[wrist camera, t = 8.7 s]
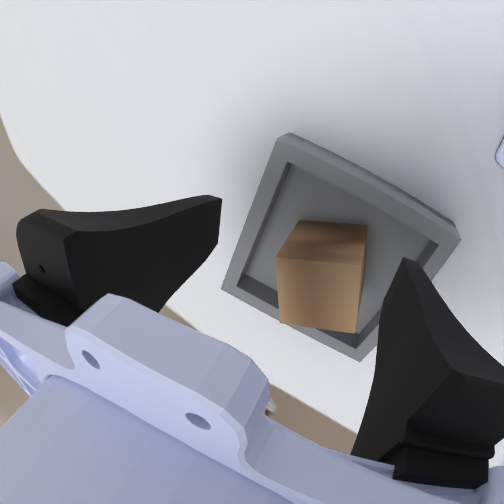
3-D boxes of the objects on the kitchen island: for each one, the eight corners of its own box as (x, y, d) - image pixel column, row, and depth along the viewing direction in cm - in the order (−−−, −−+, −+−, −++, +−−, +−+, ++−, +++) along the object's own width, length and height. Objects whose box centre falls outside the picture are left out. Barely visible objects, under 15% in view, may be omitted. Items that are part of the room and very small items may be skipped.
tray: (453, 222, 17) (461, 239, 15) (364, 340, 24) (360, 362, 22) (289, 132, 19) (277, 138, 17) (234, 271, 26) (220, 288, 24)
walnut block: (367, 224, 19) (361, 265, 15) (363, 285, 21) (354, 333, 17) (298, 220, 21) (274, 257, 17) (301, 278, 23) (280, 323, 19)
